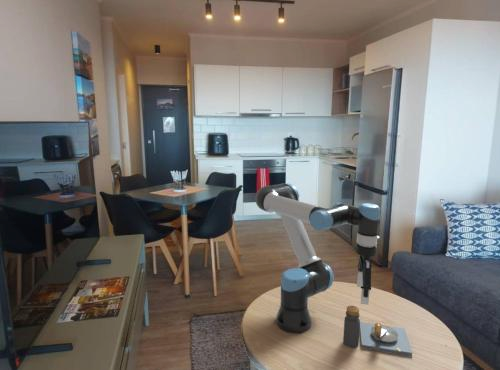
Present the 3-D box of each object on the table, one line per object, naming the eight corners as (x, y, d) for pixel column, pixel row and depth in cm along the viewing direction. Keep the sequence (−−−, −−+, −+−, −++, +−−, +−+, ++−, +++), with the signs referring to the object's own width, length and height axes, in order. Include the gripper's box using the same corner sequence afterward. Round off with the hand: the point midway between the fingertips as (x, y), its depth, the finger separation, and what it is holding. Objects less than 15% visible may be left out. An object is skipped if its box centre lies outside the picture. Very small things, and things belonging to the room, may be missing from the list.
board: (361, 348, 129) (361, 345, 129) (359, 324, 145) (359, 321, 145) (412, 357, 125) (412, 353, 124) (404, 331, 140) (404, 327, 140)
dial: (372, 343, 129) (373, 325, 128) (370, 326, 141) (371, 309, 139) (400, 348, 127) (401, 330, 126) (395, 330, 138) (396, 313, 137)
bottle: (361, 346, 131) (363, 311, 128) (348, 349, 129) (350, 313, 126) (352, 337, 136) (355, 303, 134) (340, 340, 134) (342, 306, 132)
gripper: (382, 257, 115) (377, 313, 119) (372, 234, 139) (367, 281, 143) (360, 255, 117) (355, 310, 121) (353, 232, 141) (349, 279, 145)
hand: (362, 294), depth 132 cm, fingers open, 13 cm apart
